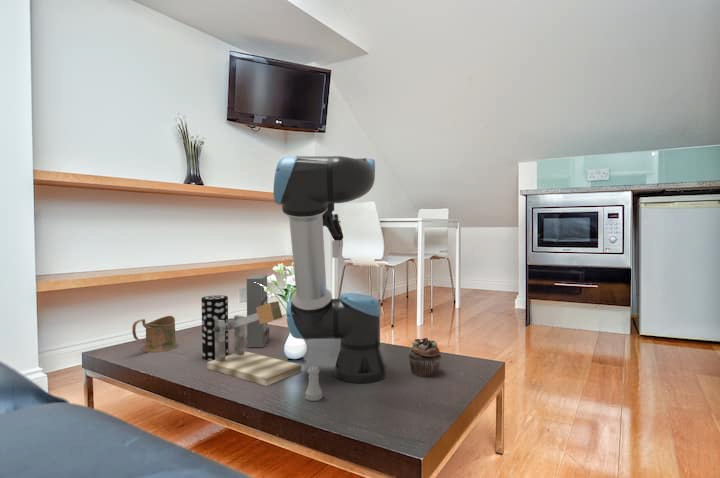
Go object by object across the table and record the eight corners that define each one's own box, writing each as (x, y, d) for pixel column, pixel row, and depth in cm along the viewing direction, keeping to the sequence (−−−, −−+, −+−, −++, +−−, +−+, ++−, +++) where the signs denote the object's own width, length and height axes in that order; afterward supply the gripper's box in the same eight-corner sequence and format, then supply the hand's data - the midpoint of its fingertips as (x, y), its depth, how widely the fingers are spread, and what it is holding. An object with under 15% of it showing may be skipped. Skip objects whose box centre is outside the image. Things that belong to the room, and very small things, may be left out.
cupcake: (447, 372, 125) (447, 339, 125) (426, 380, 119) (426, 345, 119) (423, 364, 133) (423, 333, 132) (401, 371, 126) (401, 338, 126)
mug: (120, 355, 144) (120, 320, 143) (160, 342, 160) (159, 310, 160) (147, 358, 140) (147, 322, 140) (185, 344, 157) (184, 312, 156)
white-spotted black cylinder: (232, 353, 146) (231, 295, 145) (222, 360, 137) (221, 299, 137) (209, 352, 146) (208, 295, 146) (197, 360, 138) (196, 299, 138)
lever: (282, 317, 123) (278, 301, 124) (273, 319, 120) (269, 302, 121) (233, 333, 136) (229, 318, 137) (224, 335, 133) (220, 320, 134)
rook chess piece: (301, 398, 107) (301, 366, 107) (315, 393, 110) (315, 362, 110) (312, 403, 104) (312, 371, 104) (326, 398, 107) (326, 366, 107)
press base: (301, 371, 127) (300, 323, 126) (266, 386, 115) (266, 333, 115) (243, 356, 141) (242, 313, 141) (207, 368, 130) (206, 321, 129)
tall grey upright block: (264, 347, 152) (263, 278, 151) (246, 348, 152) (246, 278, 151) (269, 337, 166) (269, 274, 165) (254, 338, 166) (253, 274, 165)
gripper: (336, 202, 166) (337, 256, 167) (292, 199, 145) (293, 260, 146) (352, 201, 162) (352, 257, 162) (308, 198, 141) (309, 261, 142)
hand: (324, 258), depth 154 cm, fingers open, 13 cm apart
